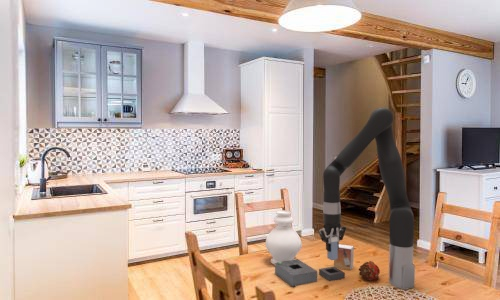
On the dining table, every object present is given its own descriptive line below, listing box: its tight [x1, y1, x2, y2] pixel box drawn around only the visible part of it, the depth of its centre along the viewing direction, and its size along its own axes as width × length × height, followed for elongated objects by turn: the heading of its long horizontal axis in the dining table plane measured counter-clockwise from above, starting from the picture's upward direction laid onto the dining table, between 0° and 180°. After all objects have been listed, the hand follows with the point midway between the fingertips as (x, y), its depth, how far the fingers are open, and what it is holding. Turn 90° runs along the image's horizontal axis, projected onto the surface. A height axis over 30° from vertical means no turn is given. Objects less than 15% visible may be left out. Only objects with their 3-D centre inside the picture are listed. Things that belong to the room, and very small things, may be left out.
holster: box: [318, 265, 346, 282], centre depth 161 cm, size 8×8×3 cm
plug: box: [326, 235, 338, 261], centre depth 160 cm, size 3×3×10 cm
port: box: [274, 258, 318, 288], centre depth 161 cm, size 16×12×6 cm
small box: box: [333, 243, 355, 271], centre depth 172 cm, size 8×6×10 cm
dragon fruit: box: [358, 260, 381, 281], centre depth 159 cm, size 8×8×12 cm
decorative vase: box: [265, 209, 303, 266], centre depth 180 cm, size 18×18×25 cm
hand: (332, 250), depth 160 cm, fingers closed on plug, 3 cm apart
